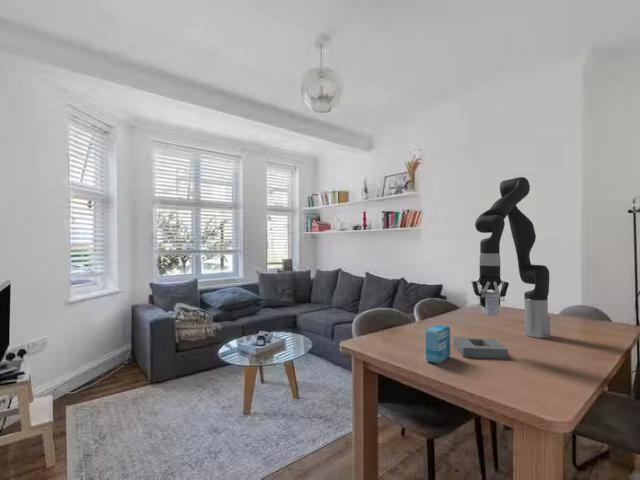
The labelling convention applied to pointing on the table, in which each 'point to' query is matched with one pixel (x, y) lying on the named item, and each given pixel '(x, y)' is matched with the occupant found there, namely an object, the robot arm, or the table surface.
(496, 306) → the medicine box
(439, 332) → the blue printed box
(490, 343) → the grey slotted block
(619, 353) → the table surface
